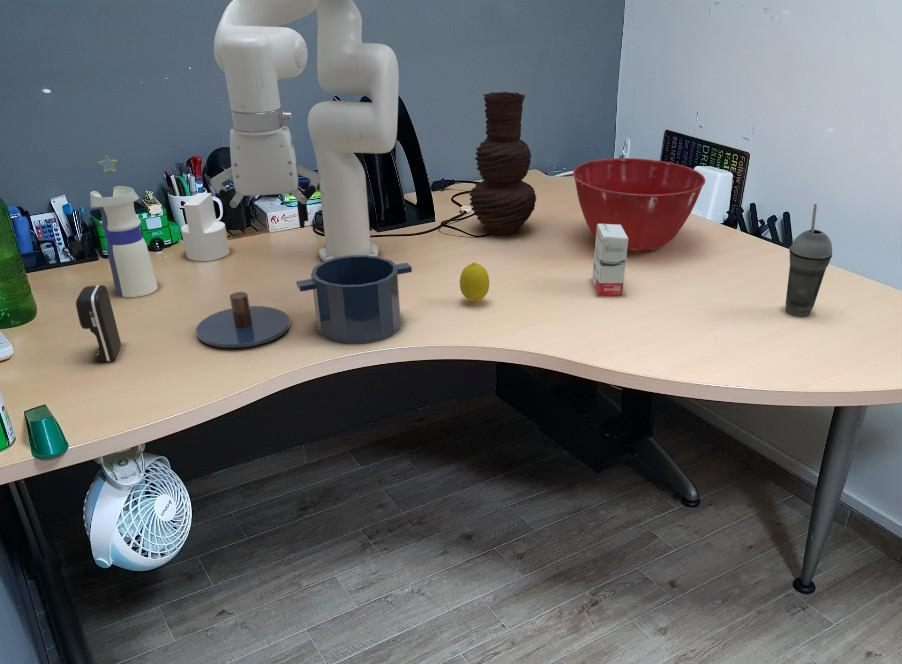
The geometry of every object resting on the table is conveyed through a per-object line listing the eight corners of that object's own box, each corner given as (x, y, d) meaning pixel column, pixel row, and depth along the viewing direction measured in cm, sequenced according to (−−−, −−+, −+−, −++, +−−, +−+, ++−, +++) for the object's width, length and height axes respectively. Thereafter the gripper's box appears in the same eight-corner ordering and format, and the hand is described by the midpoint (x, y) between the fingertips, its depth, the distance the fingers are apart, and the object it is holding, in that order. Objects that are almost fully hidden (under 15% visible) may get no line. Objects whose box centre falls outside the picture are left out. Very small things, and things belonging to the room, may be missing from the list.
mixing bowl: (713, 236, 185) (724, 168, 177) (667, 275, 164) (676, 200, 156) (602, 215, 198) (607, 151, 190) (546, 249, 177) (549, 179, 169)
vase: (456, 232, 186) (453, 96, 171) (493, 216, 197) (494, 86, 182) (511, 245, 179) (513, 104, 163) (547, 227, 190) (552, 93, 174)
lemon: (486, 309, 149) (485, 269, 145) (457, 307, 150) (456, 266, 146) (491, 298, 154) (492, 258, 150) (463, 295, 155) (463, 256, 150)
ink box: (623, 296, 155) (629, 237, 149) (597, 296, 154) (602, 237, 148) (615, 279, 162) (621, 222, 156) (591, 279, 162) (595, 222, 156)
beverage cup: (798, 323, 144) (821, 214, 134) (768, 308, 150) (789, 203, 140) (827, 315, 147) (852, 208, 137) (797, 301, 153) (819, 197, 142)
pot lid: (190, 321, 144) (183, 287, 141) (278, 305, 150) (273, 272, 147) (206, 358, 132) (198, 321, 128) (300, 339, 138) (295, 303, 135)
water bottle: (104, 290, 156) (70, 160, 143) (146, 278, 162) (116, 151, 149) (124, 301, 151) (90, 168, 139) (166, 288, 157) (137, 159, 144)
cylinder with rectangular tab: (222, 261, 170) (212, 205, 164) (180, 260, 170) (168, 205, 164) (234, 246, 178) (225, 193, 171) (194, 246, 178) (184, 192, 172)
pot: (293, 320, 145) (286, 265, 139) (397, 300, 152) (394, 248, 147) (316, 353, 133) (309, 295, 128) (427, 330, 141) (425, 274, 136)
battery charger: (98, 345, 136) (80, 282, 130) (122, 343, 136) (105, 281, 130) (89, 365, 130) (70, 299, 124) (114, 362, 130) (96, 297, 125)
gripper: (314, 113, 129) (325, 217, 138) (203, 117, 127) (222, 222, 136) (313, 124, 123) (325, 231, 132) (196, 128, 120) (217, 237, 129)
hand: (273, 226), depth 134 cm, fingers open, 9 cm apart
